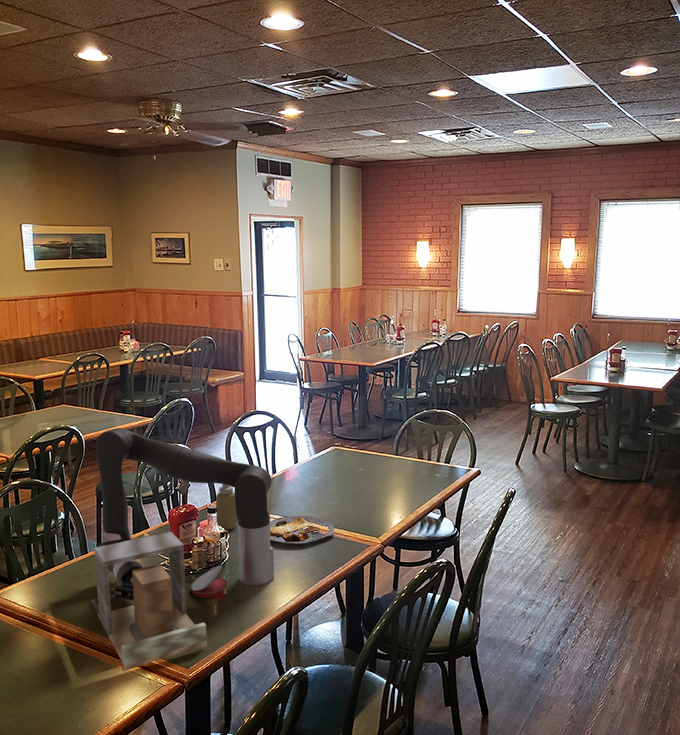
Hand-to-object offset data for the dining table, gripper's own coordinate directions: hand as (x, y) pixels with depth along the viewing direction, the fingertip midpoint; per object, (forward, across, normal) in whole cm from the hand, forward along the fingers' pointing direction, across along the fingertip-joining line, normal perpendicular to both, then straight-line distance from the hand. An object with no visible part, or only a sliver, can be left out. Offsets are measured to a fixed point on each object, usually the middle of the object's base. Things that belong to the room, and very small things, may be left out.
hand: (148, 599), depth 181 cm
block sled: (+4, 0, +7) cm, 8 cm away
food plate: (-37, +61, +9) cm, 72 cm away
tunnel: (-3, 0, +9) cm, 9 cm away
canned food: (-11, +20, +9) cm, 24 cm away
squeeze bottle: (-55, +43, +9) cm, 70 cm away
